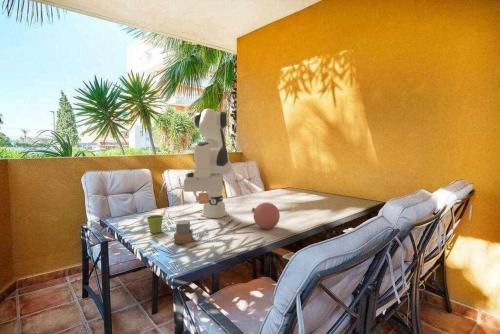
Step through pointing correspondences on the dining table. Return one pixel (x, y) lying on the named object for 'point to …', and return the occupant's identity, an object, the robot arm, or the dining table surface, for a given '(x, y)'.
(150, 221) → the plant pot
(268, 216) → the balloon
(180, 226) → the tower top
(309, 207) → the dining table surface
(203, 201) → the terracotta cylinder
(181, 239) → the tower base
